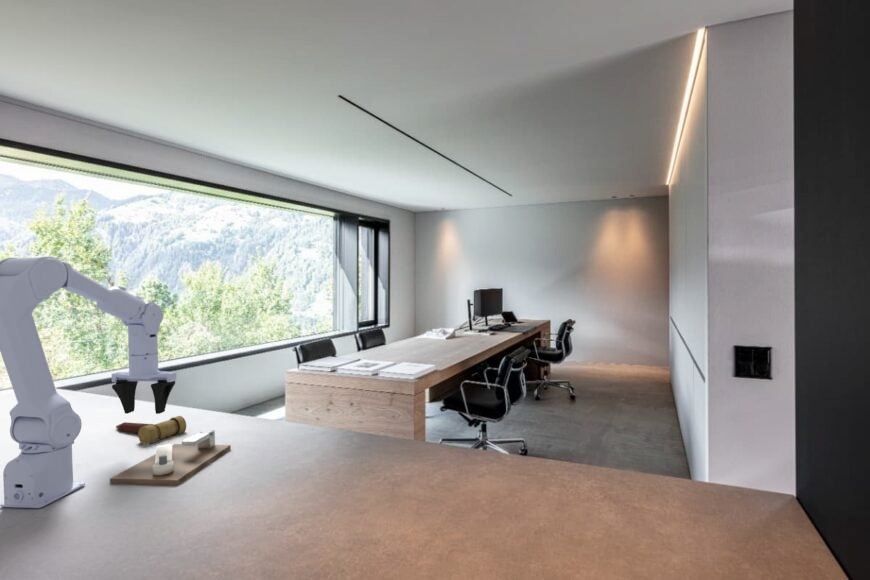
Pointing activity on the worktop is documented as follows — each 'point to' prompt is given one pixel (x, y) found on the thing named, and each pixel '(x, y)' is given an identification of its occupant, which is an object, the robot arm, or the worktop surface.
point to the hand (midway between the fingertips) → (144, 412)
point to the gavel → (154, 429)
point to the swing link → (163, 460)
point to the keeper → (201, 439)
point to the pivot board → (184, 466)
